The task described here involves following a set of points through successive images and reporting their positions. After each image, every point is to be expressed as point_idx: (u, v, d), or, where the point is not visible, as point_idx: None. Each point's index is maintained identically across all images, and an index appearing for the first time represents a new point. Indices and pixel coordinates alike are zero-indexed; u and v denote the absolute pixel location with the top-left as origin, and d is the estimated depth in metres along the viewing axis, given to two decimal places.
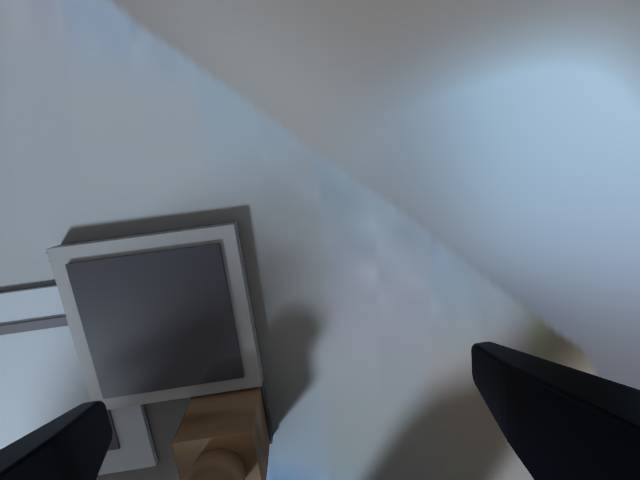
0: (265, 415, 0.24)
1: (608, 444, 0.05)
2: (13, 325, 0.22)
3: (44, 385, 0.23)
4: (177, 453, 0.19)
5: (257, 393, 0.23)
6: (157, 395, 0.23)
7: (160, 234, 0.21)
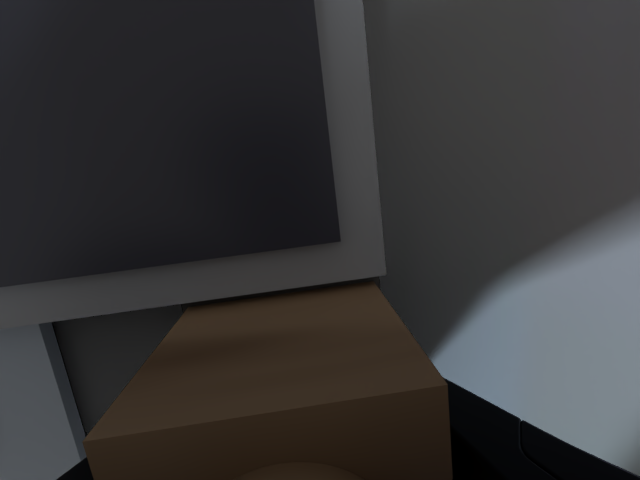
0: None
1: (462, 469, 0.05)
2: None
3: None
4: None
5: (378, 293, 0.08)
6: (81, 296, 0.08)
7: None
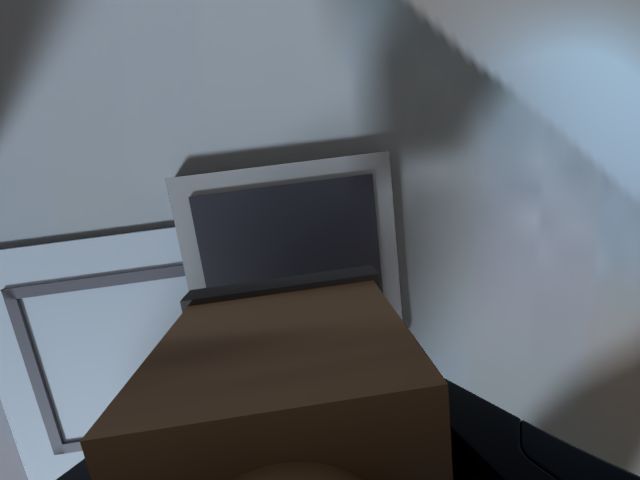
0: None
1: (462, 468, 0.05)
2: (116, 275, 0.18)
3: (147, 350, 0.19)
4: None
5: (378, 292, 0.08)
6: None
7: (301, 162, 0.17)
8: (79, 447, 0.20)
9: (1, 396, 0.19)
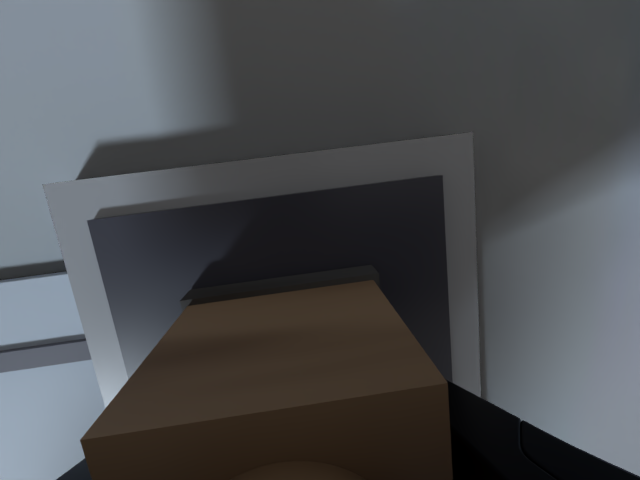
0: None
1: (462, 469, 0.05)
2: None
3: None
4: None
5: (378, 291, 0.08)
6: None
7: (306, 153, 0.09)
8: None
9: None
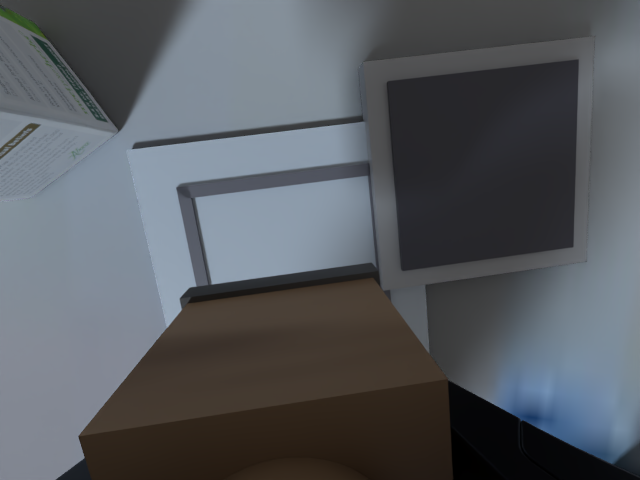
0: None
1: (462, 469, 0.05)
2: (296, 173, 0.17)
3: (317, 259, 0.18)
4: None
5: (378, 289, 0.08)
6: (462, 270, 0.18)
7: (502, 47, 0.16)
8: None
9: (164, 306, 0.18)
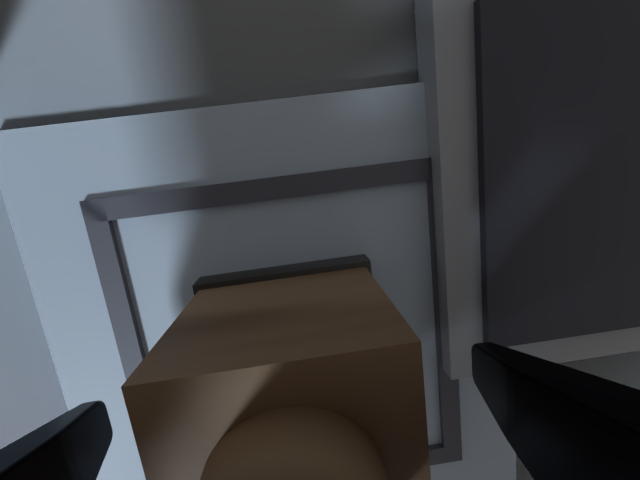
0: None
1: (608, 444, 0.05)
2: (299, 176, 0.09)
3: None
4: (144, 424, 0.05)
5: (369, 276, 0.09)
6: (587, 344, 0.10)
7: None
8: None
9: (70, 406, 0.10)
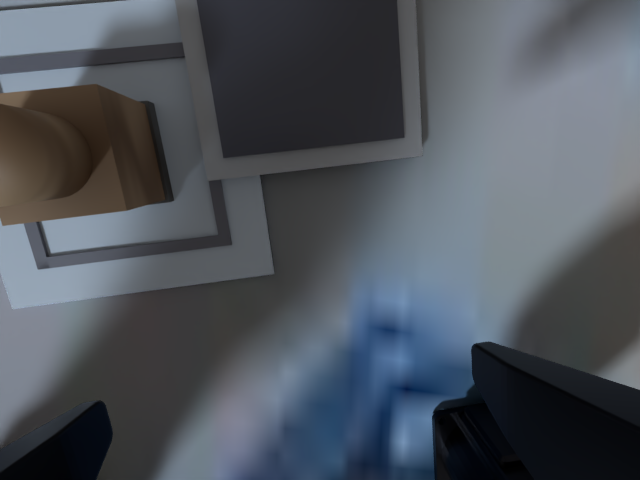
0: (156, 154, 0.17)
1: (608, 444, 0.05)
2: (105, 50, 0.16)
3: None
4: None
5: None
6: (290, 161, 0.17)
7: None
8: (65, 261, 0.18)
9: None
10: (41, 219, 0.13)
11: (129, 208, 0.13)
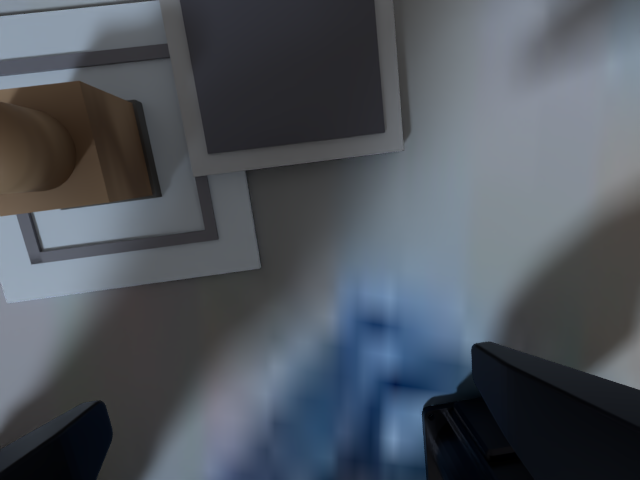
0: (143, 151, 0.17)
1: (608, 444, 0.05)
2: (95, 52, 0.17)
3: None
4: None
5: (122, 99, 0.16)
6: (273, 156, 0.18)
7: None
8: (58, 256, 0.19)
9: None
10: (28, 211, 0.13)
11: (112, 200, 0.14)
